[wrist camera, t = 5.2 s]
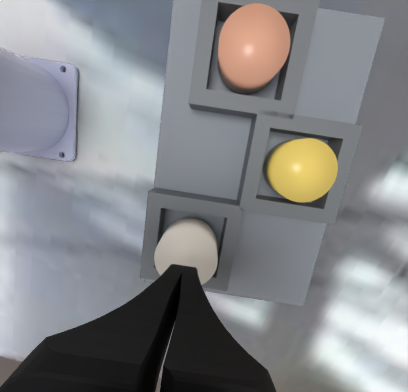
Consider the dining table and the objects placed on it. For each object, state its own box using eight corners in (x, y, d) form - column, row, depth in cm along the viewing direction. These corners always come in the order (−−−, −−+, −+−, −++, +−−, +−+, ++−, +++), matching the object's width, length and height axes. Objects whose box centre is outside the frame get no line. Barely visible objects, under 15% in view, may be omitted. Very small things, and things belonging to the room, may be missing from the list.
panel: (153, 263, 22) (136, 295, 17) (181, 13, 17) (169, -39, 13) (291, 285, 22) (313, 323, 17) (355, 40, 17) (411, -2, 12)
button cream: (160, 263, 17) (151, 283, 14) (166, 213, 16) (157, 225, 13) (212, 271, 17) (212, 292, 14) (220, 221, 16) (222, 235, 13)
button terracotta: (213, 89, 15) (213, 77, 13) (222, 23, 14) (225, -3, 12) (270, 98, 15) (281, 87, 13) (283, 33, 14) (297, 9, 12)
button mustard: (258, 190, 16) (266, 197, 14) (269, 136, 16) (280, 133, 13) (310, 198, 16) (327, 206, 14) (324, 144, 16) (345, 143, 13)
